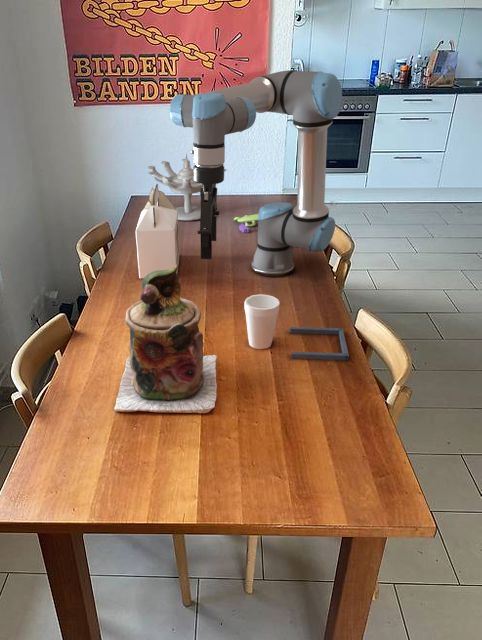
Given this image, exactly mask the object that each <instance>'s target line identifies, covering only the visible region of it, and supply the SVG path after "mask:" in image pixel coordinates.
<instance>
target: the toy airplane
mask: <svg viewBox="0 0 482 640" xmlns="http://www.w3.org/2000/svg"><path fill="white" fill-rule="evenodd" d="M258 214H259V213H254V214H250V215H247V214H245V215H244V216H235V217H234V218H233V221H235V222H238V223H241V224H239V225H238V229H239V230H238V231H241V233H248V234H249V233H250V228H251V227H255V226H256V223H258Z"/></svg>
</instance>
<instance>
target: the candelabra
mask: <svg viewBox="0 0 482 640" xmlns="http://www.w3.org/2000/svg"><path fill="white" fill-rule="evenodd" d="M181 161H182V162H183V163H182V165H183V167H182V168H181V169H180V170H179V172H178V174H177V173H176V172H174V170H173V169H172V167H171V164H170V161H165V160H162V161H160V164H162V165H164V166H163V168H164V170H165V172H166V173H167V174H168V176H166V175H163V174H161V173H159V171H157V169H156V166H154V165H149V166H147V168H148V170H152V171H148V172H147V173H148V175H151V177H152V179H153V180H154V181H156V182H157V183H158V184H162V185H164V186H167V187H168V188H169V190H170V192H173V193H175V194H180V195H183V199H184V201H183V202H184V206H178V207H175V209H176V210H177V211H178V221H182V222H183V221H184V222H187V221H188V222H189V221H190V222H191V221H198V220H199V221H200V216H201V206H197V205H193V204H192V203H193V202H192V196H193V194H197V193H200V190H201V188H203V184H201V183H196V182H195V181H194V176H193V168H192V166H191V161H190V160H189V159H188V153H187V152H186V154H185V158H182V159H181ZM222 165H223V166H225V163H223V164H222ZM226 171H227V168H224V173H225V172H226Z"/></svg>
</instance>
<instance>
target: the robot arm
mask: <svg viewBox="0 0 482 640" xmlns="http://www.w3.org/2000/svg"><path fill="white" fill-rule="evenodd" d="M342 103H343V89H342V85H341V82H340V80H339V79H338V77H337V76H336V75H335V74H334V73H330V72H324V71H322V70H321V71H313V70H312V71H310V70H307V71H306V70H281V71H276V72H272V73H269V74H265V75H260V76H256V77H254V78H253V79H251V80H250V81H249V82H246V83H242V84H238V85H233V86H227V87H224V88H218V89H215V90H211V91H210V90H209V91H206V92H202V93H201V92H200V93H195V94H188V93H184V94H176V95H175V96H174V97H173V98H172V99H171V101H170V104H169V117H170V120H171V121H172V123H173V124H174V125H176V126H179V127H183V128H192V135H193V137H192V139H193V141H192V147H193V148H192V149H191V150H190V154H191V155H193V164H194V165H193V167H192V169H193V176H194V181H195V182H196V183H201V184H203V188H201V190H200V192H199V196H200V202H199V203H200V207H201V216H200V219H199V230H197V235H200V260H212V259H213V250H212V249H213V242H217V216H218V217H219V216H220V211H219V210H218V205H217V202H218V201H217V200H218V199H217V198H218V187H217V185H218V184H221V183H223V182H224V181H225V172H224V169H225V165H222V164H225V162H226V160H225V159H226V145H225V144H226V143H225V139H226V136H227V135H231V134H235V133H242V132H244V131H246V130H248V129H250V128H251V127H252V126H254V124H255V122H256V119H257V113H258V114H263V113H276V114H281V115H289V116H292V125H293V126H294V127H295V128H296V129H297V195H296V196H297V201H296V202H297V205H296V206H295V207H294V205H293V203H290V202H282V201H280V202H270V203H267V204H265V205H262V206H261V207H260V208H259V209H258V213H257V214H258V222H257V236H256V237H257V241H256V250H255V252H254V255H253V258H252V260H251V263H250V264H251V267H250V268H251V271H252V272H253V273H254V274H257V275H259V276H262V277H268V278H278V277H279V278H280V277H285V276H288V275H290V274H292V273H293V272H294V270H295V262H294V260H293V255H292V251H291V248H292V247H294V248H298V249H301V250H306V251H308V252H316V253H321V252H322V251H324V250H326V249H327V247H328V246H329V245H330V243H331V242H332V239H333V237H334V235H335V230H336V220H335V218H333V217H332V216H329V215H330V208H329V207H328V206H327V205H326V204H325V198H326V173H327V171H326V170H327V147H328V144H327V143H328V128H329V127H330V126H331V125H332V124H333V122H334V119H335V118H336V117H337V116H339V113H340V112H341V107H342Z"/></svg>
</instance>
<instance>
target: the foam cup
mask: <svg viewBox="0 0 482 640" xmlns="http://www.w3.org/2000/svg"><path fill="white" fill-rule="evenodd" d="M280 305H281V304H280V300H279V298H277V297H275V296H273V295H269V294H261V293H260V294H259V293H258V294H253V295H252V294H251V295H250V296H247V297H246V298H245V300H244V306H243V307H244V312H245V320H246V321H245V322H246V329H247V338H248V339H247V340H248V345H249V346H250V347H251V348H253V349H256V350H267V349H268V348H270V347H271V346H272V343H273V339H274V334H275V330H276V324H277V319H278V315H279V312H280Z"/></svg>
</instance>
